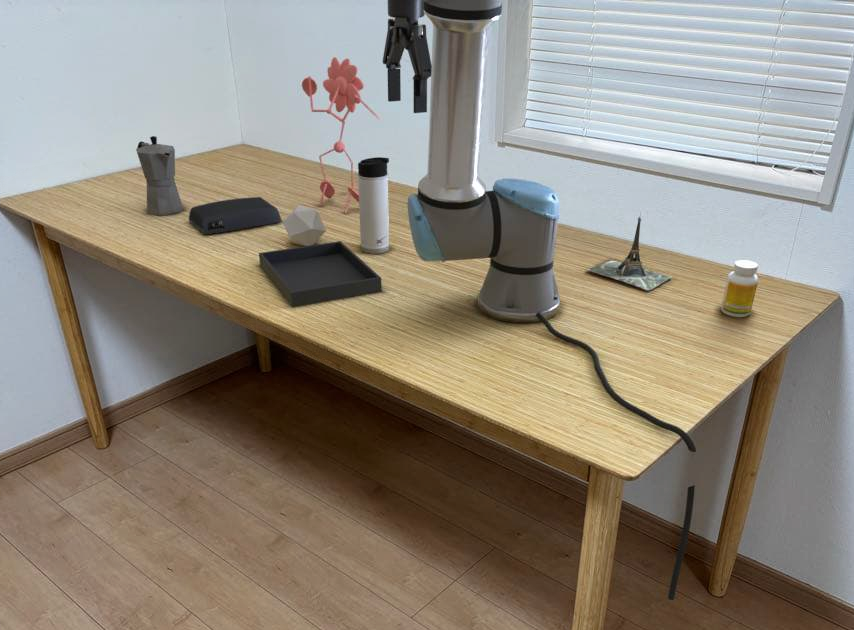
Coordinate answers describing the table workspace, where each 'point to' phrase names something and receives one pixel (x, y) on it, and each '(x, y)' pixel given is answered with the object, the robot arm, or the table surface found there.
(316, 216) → the die
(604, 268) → the eiffel tower figurine
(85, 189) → the table surface
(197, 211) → the hard drive
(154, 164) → the coffeepot
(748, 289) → the supplement bottle
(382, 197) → the travel mug
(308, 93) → the figurine
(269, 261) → the black tray
